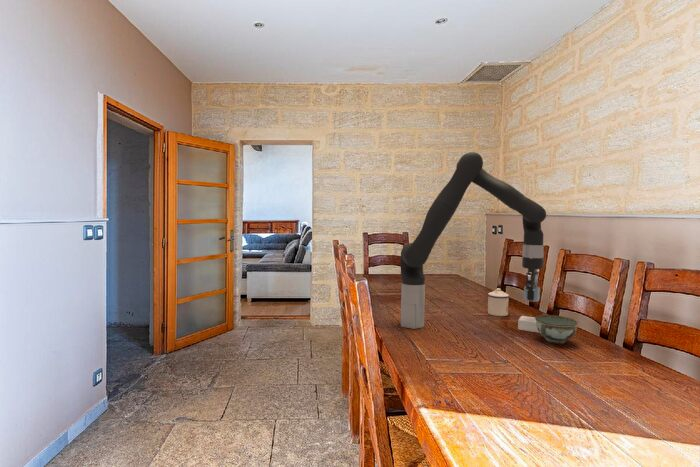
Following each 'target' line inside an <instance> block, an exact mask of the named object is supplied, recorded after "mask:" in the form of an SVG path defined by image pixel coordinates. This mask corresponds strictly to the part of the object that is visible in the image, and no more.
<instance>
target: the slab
mask: <svg viewBox="0 0 700 467" xmlns="http://www.w3.org/2000/svg"><path fill="white" fill-rule="evenodd" d="M535 317H536V316H534V317H533V316H527V315H521V316H520V317H519V319H518V320H517V321H518V322H517V329H518V330H519V331H526V332H530V333H531V332H533V333H539V331H538V329H537V326H536V319H535ZM539 334H540V333H539Z"/></svg>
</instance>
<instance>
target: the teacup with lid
mask: <svg viewBox="0 0 700 467" xmlns="http://www.w3.org/2000/svg"><path fill="white" fill-rule="evenodd" d="M487 296H488V297H487V298H488V299H487V314H488V315H490V316H495V317H506V316H508V315H509V298H510V295H509V294H508V293H506V292H504V291H503V290H502V289H501V288H500V287H498V288H496V289H495V290H493V291H491V292H488V293H487Z"/></svg>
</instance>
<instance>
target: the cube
mask: <svg viewBox="0 0 700 467" xmlns="http://www.w3.org/2000/svg"><path fill="white" fill-rule="evenodd" d="M529 287H532V286H530V285H529ZM527 291H528V290H526V285H525V286H524V287H523V301H526V302H534V303H535V302H537V303H538V302H539V301H540V298H541V297H540V295H541V294H540V293H541V287H540V286H537V287H534V300H527Z"/></svg>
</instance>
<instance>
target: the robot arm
mask: <svg viewBox="0 0 700 467" xmlns="http://www.w3.org/2000/svg"><path fill="white" fill-rule="evenodd" d="M483 160H484V159H483V157H482V156H481V155H480V153H478V152H475V151H471V152H470V151H469V152H467V153H465V154H463V155H462V156H461V157H460V158H459V160H458V161H457V162H456V163H457V164H456V167H455V171H454V172H453V174H452V177H451V178H450V180H449V181H448V182H447V183H446V185H445V186H444V187H443V188H442V189H441V191H440V192H439V193H438V195H437V196H436V198H434V201H433V202H432V204H431V206H430V207H429V209H428V211H427V213H426V214H425V218H424V221H423V224H422V227H421V230H420V231H419V233H418V235H416V238H415V239H414V240H413V242H409V243H407V244H405V245H404V246H403V247H402V248H401V251H400V277H401V296H400V297H401V302H400V303H401V304H400V327H402V328H407V329H412V330H415V329H423V328H424V327H425V302H426V300H425V299H426V298H425V293H426V292H425V291H426V277H425V274H424V265H425V263H426V262H427V261H428V259H429V257H430V254H431V252H432V250H433V249H434V245H435V244H436V242H437V241H438V238H439V237H440V236H441V234H442V233H443V231H444V230H445V228H446V227H447V225H448V224H449V222H450V221H451V219H452V218H453V216H454V214H455V213H456V211H457V209H458V207H459V206H460V204H461V201H462V200H463V198H464V195H465V193H466V192H467V189H468V188H469V186H470V184H472V183H473V184H475V185H477V186H478V187H480V188H481V189H484V190H485V191H486V192H488V193H489V194H491V195H492V196H493V197H495V198H496V199H498V200H499V201H500V202H501V203H503V204H504V205H506V206H507V208H510V209H511V210H513V211H516V212H518V213H519V215H521V216H522V228H523V243H522V244H523V246H522V258H521V259H522V262H521V264H522V265H521V267H522V268H523V269H527V272H525V286H526V290H528V291H527V300H534V287H538V285H539V283H538V282H539V275H540V272H539V271H538V270H542V269H544V254H545V252H544V232H543V230H542V222H544V221H545V220H546V218H547V211H546V208H544V207H543V206H542V205H541V204H539V203H537V202H536V201H535V200H532V199H531V198H529V197H527V196H526V195H524V194H523V193H522V192H521V191H520V190H518V189H516V188H515V187H514V186H512V185H511V184H509V183H507V182H505V181H504V180H501V179H499V178H497V177H495V176H493V175H492V174H490V173H488V172H487V171H486V170H485V169H484V168H483V166H484V161H483ZM529 286H532V287H529Z"/></svg>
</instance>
